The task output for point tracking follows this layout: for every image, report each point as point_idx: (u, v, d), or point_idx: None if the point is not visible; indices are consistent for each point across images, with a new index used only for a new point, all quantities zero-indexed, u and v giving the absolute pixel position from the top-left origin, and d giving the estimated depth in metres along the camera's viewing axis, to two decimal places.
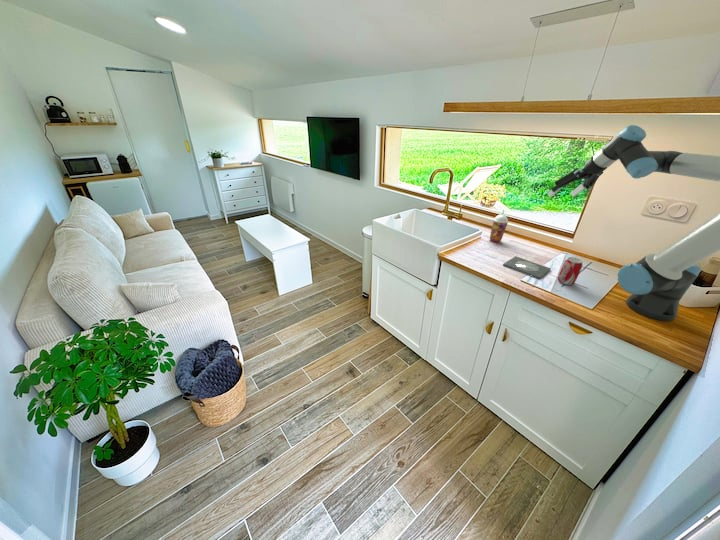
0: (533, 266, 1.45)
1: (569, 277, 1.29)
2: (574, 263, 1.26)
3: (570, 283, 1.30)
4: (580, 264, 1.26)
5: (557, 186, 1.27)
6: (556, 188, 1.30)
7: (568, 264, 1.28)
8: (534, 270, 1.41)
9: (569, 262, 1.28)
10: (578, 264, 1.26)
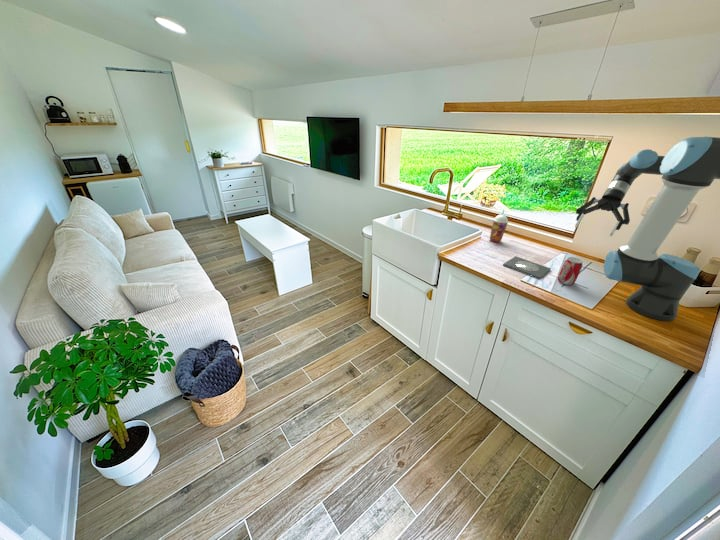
0: (533, 266, 1.45)
1: (569, 277, 1.29)
2: (574, 263, 1.26)
3: (570, 283, 1.30)
4: (580, 264, 1.26)
5: (577, 210, 1.36)
6: None
7: (568, 264, 1.28)
8: (534, 270, 1.41)
9: (569, 262, 1.28)
10: (578, 264, 1.26)
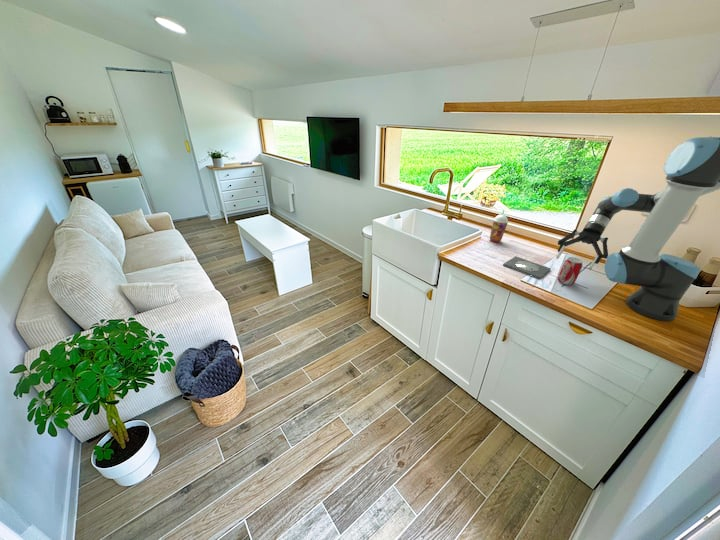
0: (533, 266, 1.45)
1: (569, 277, 1.29)
2: (574, 263, 1.26)
3: (570, 283, 1.30)
4: (580, 264, 1.26)
5: (558, 241, 1.39)
6: (560, 246, 1.38)
7: (568, 264, 1.28)
8: (534, 270, 1.41)
9: (569, 262, 1.28)
10: (578, 264, 1.26)
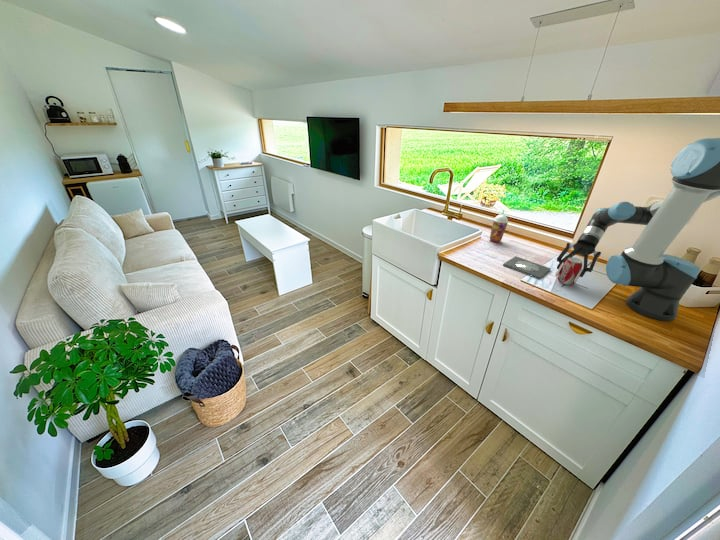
0: (533, 266, 1.45)
1: (569, 277, 1.29)
2: (574, 263, 1.26)
3: (570, 283, 1.30)
4: (580, 264, 1.26)
5: (557, 258, 1.34)
6: (559, 263, 1.33)
7: (568, 264, 1.28)
8: (534, 270, 1.41)
9: (569, 262, 1.28)
10: (578, 264, 1.26)
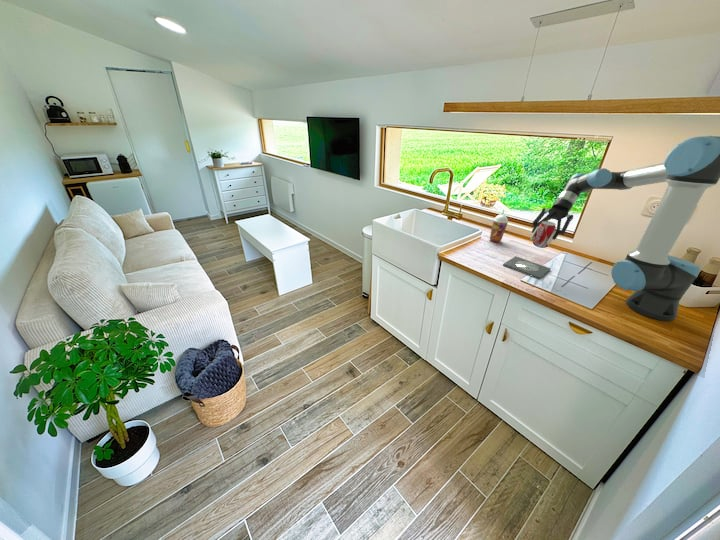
0: (533, 266, 1.45)
1: (543, 239, 1.34)
2: (547, 225, 1.31)
3: (544, 246, 1.36)
4: (553, 226, 1.31)
5: (533, 223, 1.39)
6: (534, 227, 1.39)
7: (542, 227, 1.33)
8: (534, 270, 1.41)
9: (543, 225, 1.33)
10: (551, 226, 1.31)
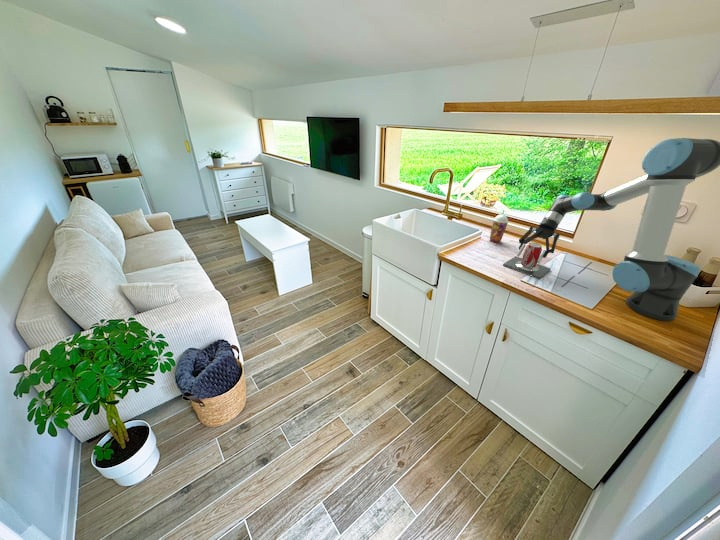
0: None
1: (530, 260, 1.40)
2: (534, 247, 1.38)
3: (531, 266, 1.42)
4: (539, 248, 1.37)
5: (519, 240, 1.46)
6: None
7: (529, 248, 1.39)
8: (534, 270, 1.41)
9: (530, 247, 1.39)
10: (537, 248, 1.37)
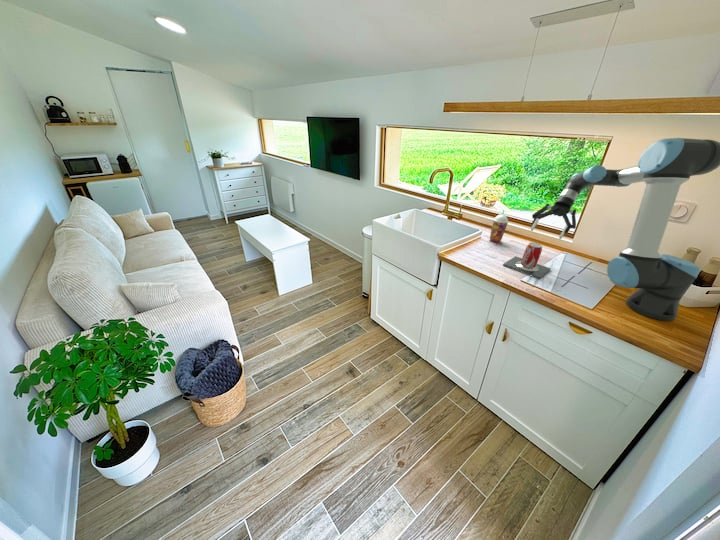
0: None
1: (530, 260, 1.40)
2: (534, 247, 1.38)
3: (531, 266, 1.42)
4: (539, 248, 1.37)
5: (532, 215, 1.50)
6: (534, 219, 1.49)
7: (529, 248, 1.39)
8: (534, 270, 1.41)
9: (530, 247, 1.39)
10: (537, 248, 1.37)
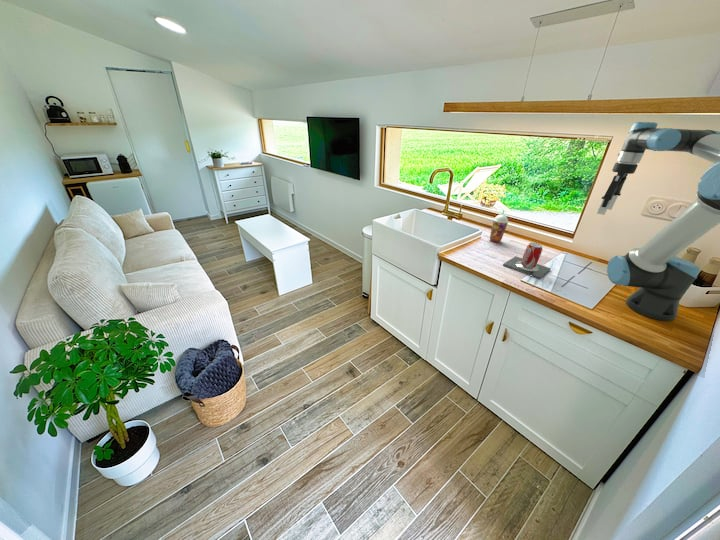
0: None
1: (530, 260, 1.40)
2: (534, 247, 1.38)
3: (531, 266, 1.42)
4: (540, 248, 1.37)
5: (610, 198, 1.19)
6: (607, 202, 1.21)
7: (529, 248, 1.39)
8: (534, 270, 1.41)
9: (530, 247, 1.39)
10: (538, 248, 1.37)
